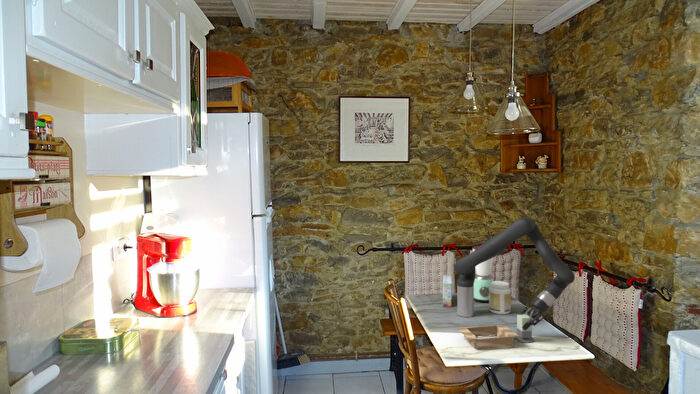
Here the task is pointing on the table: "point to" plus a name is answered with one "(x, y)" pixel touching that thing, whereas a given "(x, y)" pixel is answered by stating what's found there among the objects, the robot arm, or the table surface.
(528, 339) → the slate mat
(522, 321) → the box
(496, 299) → the supplement tub
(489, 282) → the mint green blender
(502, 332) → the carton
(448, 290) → the snack box
